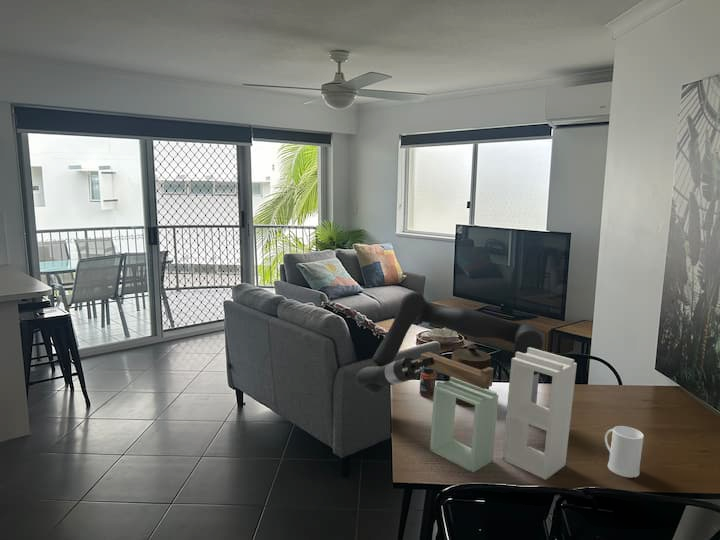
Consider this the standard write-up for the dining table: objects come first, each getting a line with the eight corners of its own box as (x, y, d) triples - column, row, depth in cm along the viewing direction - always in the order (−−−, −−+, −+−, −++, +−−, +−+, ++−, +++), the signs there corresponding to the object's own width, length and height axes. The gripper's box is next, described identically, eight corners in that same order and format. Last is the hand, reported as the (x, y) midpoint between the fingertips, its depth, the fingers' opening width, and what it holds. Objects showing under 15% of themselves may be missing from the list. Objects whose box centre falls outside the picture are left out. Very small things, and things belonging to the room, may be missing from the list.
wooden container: (463, 388, 211) (467, 336, 207) (495, 400, 200) (500, 346, 197) (440, 398, 201) (444, 343, 197) (472, 411, 190) (477, 353, 187)
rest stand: (449, 440, 168) (454, 375, 164) (492, 460, 157) (498, 391, 153) (429, 450, 161) (434, 383, 157) (473, 472, 150) (479, 400, 146)
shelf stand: (522, 446, 166) (532, 345, 160) (565, 465, 156) (577, 358, 150) (502, 459, 157) (512, 353, 152) (545, 479, 147) (557, 367, 142)
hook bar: (427, 362, 168) (428, 346, 167) (491, 385, 151) (493, 368, 150) (419, 364, 165) (420, 348, 164) (484, 389, 148) (485, 371, 147)
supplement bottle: (436, 393, 205) (438, 366, 203) (432, 398, 200) (433, 370, 198) (422, 390, 208) (423, 363, 206) (417, 395, 202) (418, 367, 201)
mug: (593, 458, 160) (597, 422, 158) (615, 455, 163) (620, 419, 161) (622, 479, 149) (627, 440, 147) (646, 475, 152) (651, 437, 150)
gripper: (382, 364, 170) (419, 351, 158) (411, 355, 180) (447, 343, 168) (389, 386, 169) (427, 375, 156) (418, 376, 178) (455, 365, 166)
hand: (437, 358), depth 162 cm, fingers closed on hook bar, 4 cm apart
